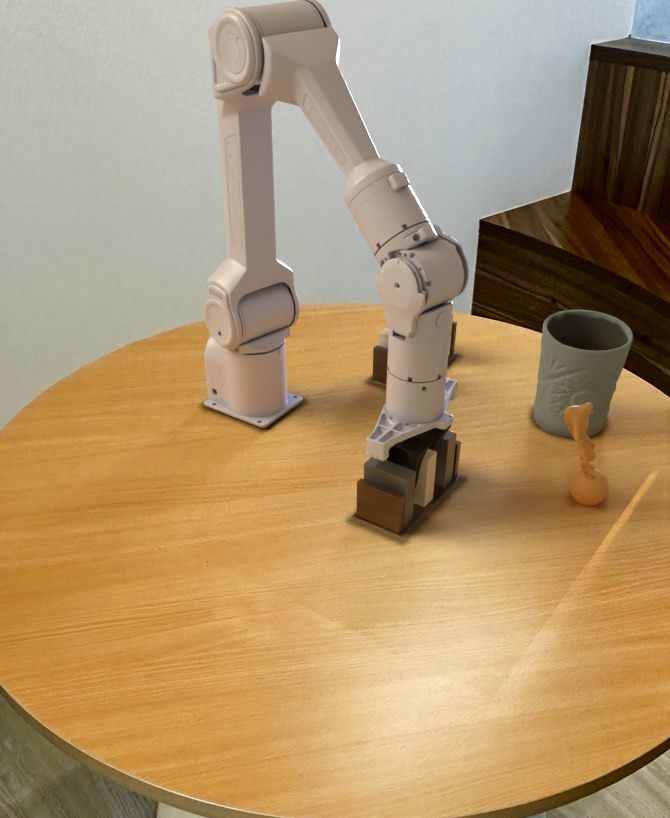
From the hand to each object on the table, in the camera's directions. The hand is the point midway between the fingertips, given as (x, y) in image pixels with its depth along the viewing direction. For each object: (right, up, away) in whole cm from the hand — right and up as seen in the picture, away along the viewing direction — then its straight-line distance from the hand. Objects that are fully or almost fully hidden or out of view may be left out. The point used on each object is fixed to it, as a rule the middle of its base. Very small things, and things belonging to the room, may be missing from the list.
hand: (410, 483), depth 93 cm
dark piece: (+2, +17, +23) cm, 29 cm away
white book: (0, -1, +1) cm, 2 cm away
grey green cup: (+20, +9, +14) cm, 26 cm away
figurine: (+18, -2, +2) cm, 18 cm away
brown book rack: (0, -2, +1) cm, 2 cm away
